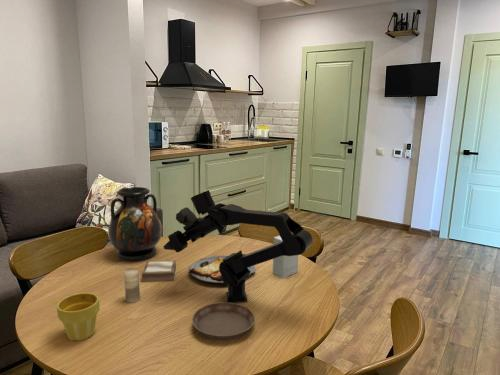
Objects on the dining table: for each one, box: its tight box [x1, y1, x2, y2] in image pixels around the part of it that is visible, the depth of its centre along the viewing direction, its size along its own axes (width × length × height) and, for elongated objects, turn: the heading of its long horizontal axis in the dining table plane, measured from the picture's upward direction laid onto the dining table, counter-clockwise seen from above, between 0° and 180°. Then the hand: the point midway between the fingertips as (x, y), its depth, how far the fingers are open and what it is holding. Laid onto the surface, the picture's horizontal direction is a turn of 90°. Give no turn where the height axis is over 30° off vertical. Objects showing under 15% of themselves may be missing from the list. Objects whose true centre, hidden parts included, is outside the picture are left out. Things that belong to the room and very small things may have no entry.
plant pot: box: [56, 292, 100, 341], centre depth 101 cm, size 10×10×10 cm
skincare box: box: [272, 235, 299, 279], centre depth 140 cm, size 8×6×15 cm
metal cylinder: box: [123, 267, 141, 304], centre depth 119 cm, size 4×4×10 cm
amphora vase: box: [107, 186, 163, 262], centre depth 155 cm, size 22×22×28 cm
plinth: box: [141, 260, 177, 283], centre depth 138 cm, size 11×11×3 cm
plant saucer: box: [191, 302, 256, 342], centre depth 106 cm, size 18×18×3 cm
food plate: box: [188, 254, 256, 284], centre depth 141 cm, size 25×23×4 cm
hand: (171, 242), depth 130 cm, fingers open, 9 cm apart
